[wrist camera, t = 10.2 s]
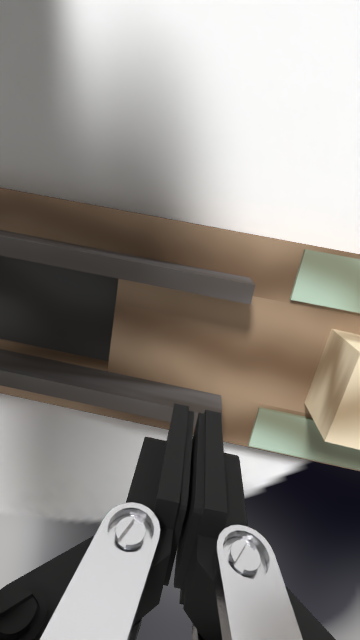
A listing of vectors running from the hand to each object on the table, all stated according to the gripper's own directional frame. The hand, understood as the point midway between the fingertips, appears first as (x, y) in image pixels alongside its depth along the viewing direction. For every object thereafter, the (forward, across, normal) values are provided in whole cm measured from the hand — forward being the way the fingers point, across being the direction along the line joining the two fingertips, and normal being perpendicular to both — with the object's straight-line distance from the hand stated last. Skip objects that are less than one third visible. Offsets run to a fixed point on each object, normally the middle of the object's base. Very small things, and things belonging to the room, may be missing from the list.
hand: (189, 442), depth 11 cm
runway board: (+14, +1, +1) cm, 14 cm away
